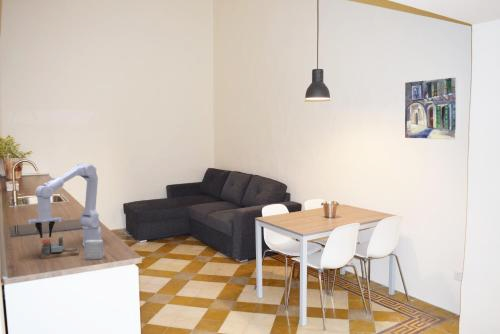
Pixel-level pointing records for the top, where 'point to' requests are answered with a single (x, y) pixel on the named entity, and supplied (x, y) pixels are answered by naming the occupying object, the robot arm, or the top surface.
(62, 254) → the rail bed
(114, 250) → the top surface
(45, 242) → the button
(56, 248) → the carriage
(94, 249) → the medicine box
